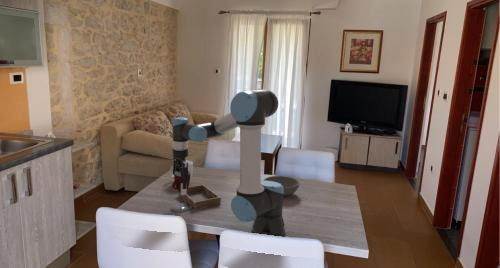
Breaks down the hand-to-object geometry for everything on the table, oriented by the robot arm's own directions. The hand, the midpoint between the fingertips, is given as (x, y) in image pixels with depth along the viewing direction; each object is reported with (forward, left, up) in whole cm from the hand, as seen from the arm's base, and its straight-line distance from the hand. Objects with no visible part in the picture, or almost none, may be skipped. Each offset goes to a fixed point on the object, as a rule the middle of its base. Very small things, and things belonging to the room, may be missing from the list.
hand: (180, 191), depth 183 cm
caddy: (+5, -13, -9) cm, 17 cm away
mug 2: (0, 0, 0) cm, 0 cm away
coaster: (0, 0, -9) cm, 9 cm away
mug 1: (+34, -15, -9) cm, 39 cm away
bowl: (-9, -58, -9) cm, 59 cm away
